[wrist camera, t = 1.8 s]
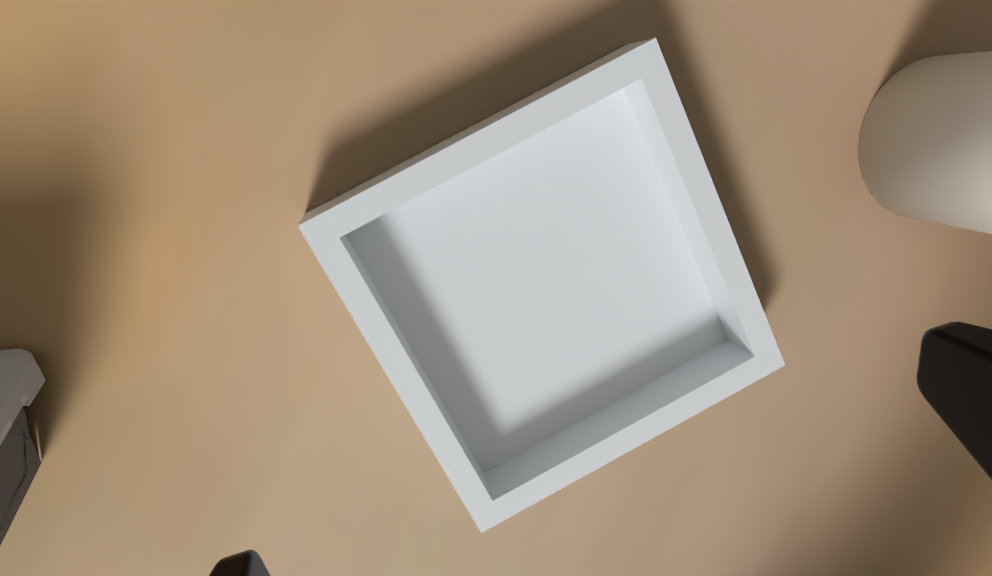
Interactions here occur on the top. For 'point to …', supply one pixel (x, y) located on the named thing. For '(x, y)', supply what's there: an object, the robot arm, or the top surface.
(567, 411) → the tray
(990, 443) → the robot arm
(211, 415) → the top surface
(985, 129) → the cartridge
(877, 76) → the top surface
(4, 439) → the electrical switch
